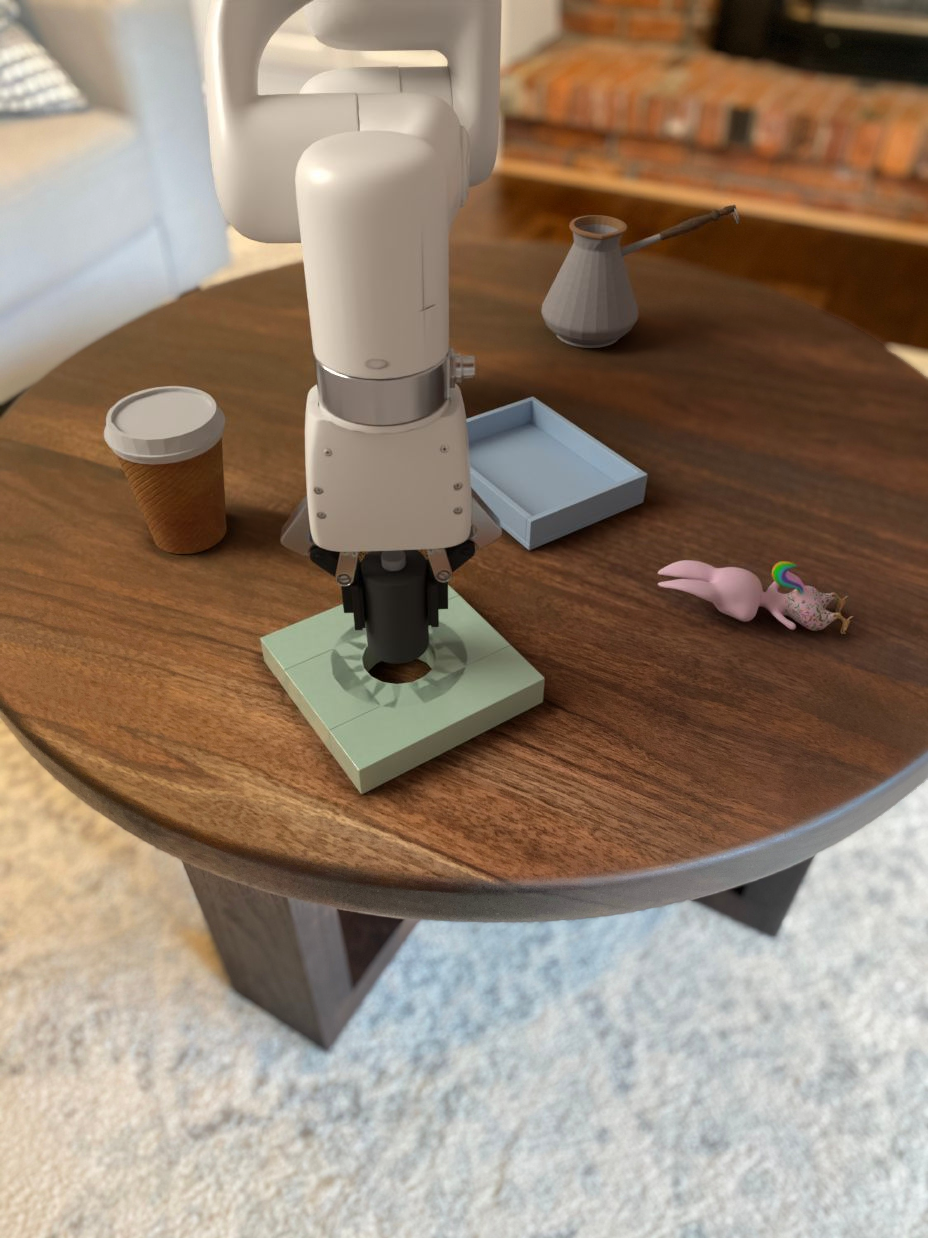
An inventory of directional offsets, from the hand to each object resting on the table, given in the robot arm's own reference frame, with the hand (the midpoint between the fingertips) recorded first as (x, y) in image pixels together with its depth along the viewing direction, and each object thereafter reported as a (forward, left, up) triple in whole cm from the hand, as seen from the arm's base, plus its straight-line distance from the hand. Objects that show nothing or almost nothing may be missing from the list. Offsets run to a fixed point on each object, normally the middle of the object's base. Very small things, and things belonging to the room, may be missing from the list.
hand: (396, 613), depth 65 cm
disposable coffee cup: (-26, -6, -7) cm, 27 cm away
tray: (-16, +24, -6) cm, 29 cm away
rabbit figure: (+9, +27, -7) cm, 29 cm away
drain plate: (0, 0, -6) cm, 6 cm away
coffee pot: (-35, +53, -7) cm, 63 cm away
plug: (0, 0, -3) cm, 3 cm away
